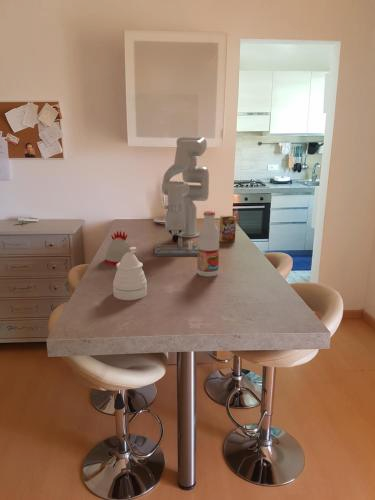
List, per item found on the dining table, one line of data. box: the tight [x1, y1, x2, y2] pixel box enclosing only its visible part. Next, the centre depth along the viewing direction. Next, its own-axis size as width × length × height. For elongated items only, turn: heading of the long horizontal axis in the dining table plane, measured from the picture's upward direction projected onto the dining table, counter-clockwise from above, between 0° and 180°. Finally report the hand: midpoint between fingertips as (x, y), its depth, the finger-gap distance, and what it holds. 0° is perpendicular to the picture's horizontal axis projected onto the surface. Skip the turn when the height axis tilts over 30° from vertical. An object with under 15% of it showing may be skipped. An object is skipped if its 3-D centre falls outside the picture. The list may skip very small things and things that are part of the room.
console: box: [154, 243, 198, 257], centre depth 207 cm, size 16×24×2 cm, turn 94°
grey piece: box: [105, 230, 132, 266], centre depth 189 cm, size 14×14×15 cm
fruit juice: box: [196, 210, 220, 278], centre depth 170 cm, size 9×9×28 cm
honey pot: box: [112, 246, 148, 301], centre depth 147 cm, size 13×13×18 cm
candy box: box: [218, 215, 237, 243], centre depth 229 cm, size 9×4×15 cm, turn 98°
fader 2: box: [187, 239, 193, 250], centre depth 205 cm, size 3×2×5 cm
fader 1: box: [177, 236, 183, 247], centre depth 211 cm, size 3×2×5 cm
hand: (175, 242), depth 204 cm, fingers closed
